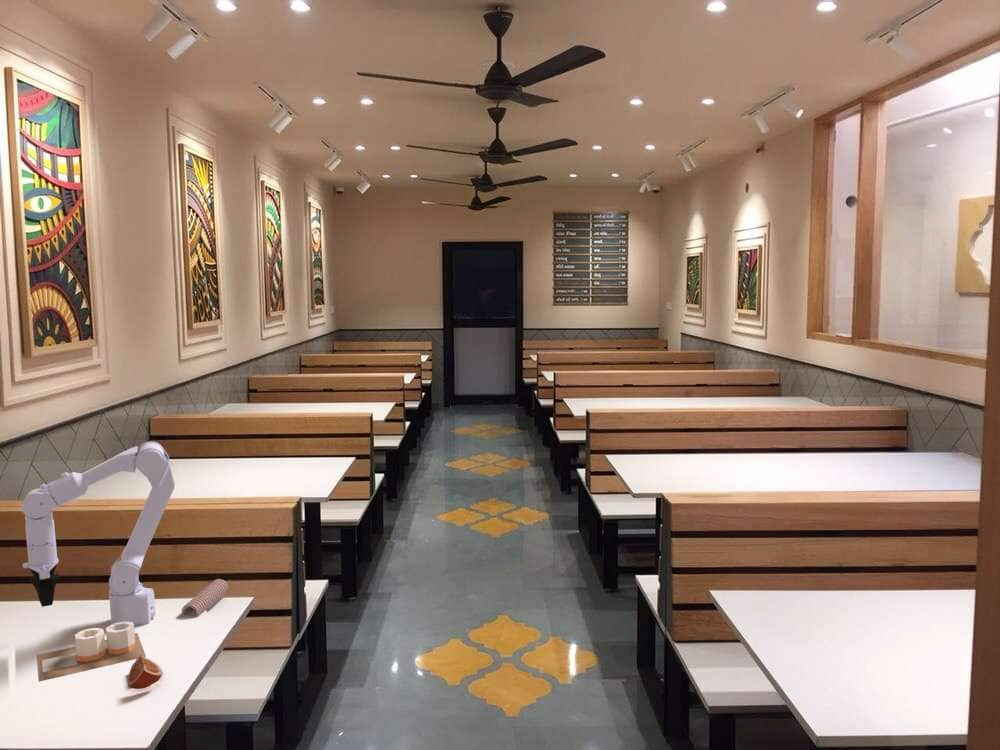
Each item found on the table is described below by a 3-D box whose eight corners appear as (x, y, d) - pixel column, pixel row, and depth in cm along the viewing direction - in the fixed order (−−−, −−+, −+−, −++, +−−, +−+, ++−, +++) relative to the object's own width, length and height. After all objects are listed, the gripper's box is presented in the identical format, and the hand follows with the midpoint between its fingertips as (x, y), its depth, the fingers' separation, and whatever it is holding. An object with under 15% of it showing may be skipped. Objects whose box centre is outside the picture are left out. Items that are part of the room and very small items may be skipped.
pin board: (137, 639, 186) (136, 616, 186) (146, 663, 174) (144, 639, 174) (37, 661, 176) (35, 637, 176) (39, 688, 164) (37, 663, 164)
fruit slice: (126, 680, 167) (124, 657, 166) (161, 672, 170) (159, 650, 169) (128, 698, 160) (126, 674, 159) (165, 690, 163) (163, 666, 162)
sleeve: (76, 654, 176) (74, 631, 175) (104, 647, 179) (102, 626, 178) (77, 663, 171) (75, 641, 171) (106, 657, 174) (104, 635, 174)
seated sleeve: (106, 647, 179) (105, 625, 178) (133, 641, 182) (132, 619, 181) (109, 656, 174) (107, 634, 174) (136, 650, 177) (135, 628, 177)
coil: (198, 606, 194) (230, 578, 212) (179, 604, 194) (212, 576, 212) (197, 625, 195) (229, 596, 212) (179, 622, 195) (212, 593, 213)
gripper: (20, 537, 189) (25, 593, 190) (21, 554, 176) (26, 614, 178) (55, 531, 192) (59, 587, 194) (58, 548, 180) (63, 607, 182)
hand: (46, 599), depth 186 cm, fingers open, 7 cm apart
